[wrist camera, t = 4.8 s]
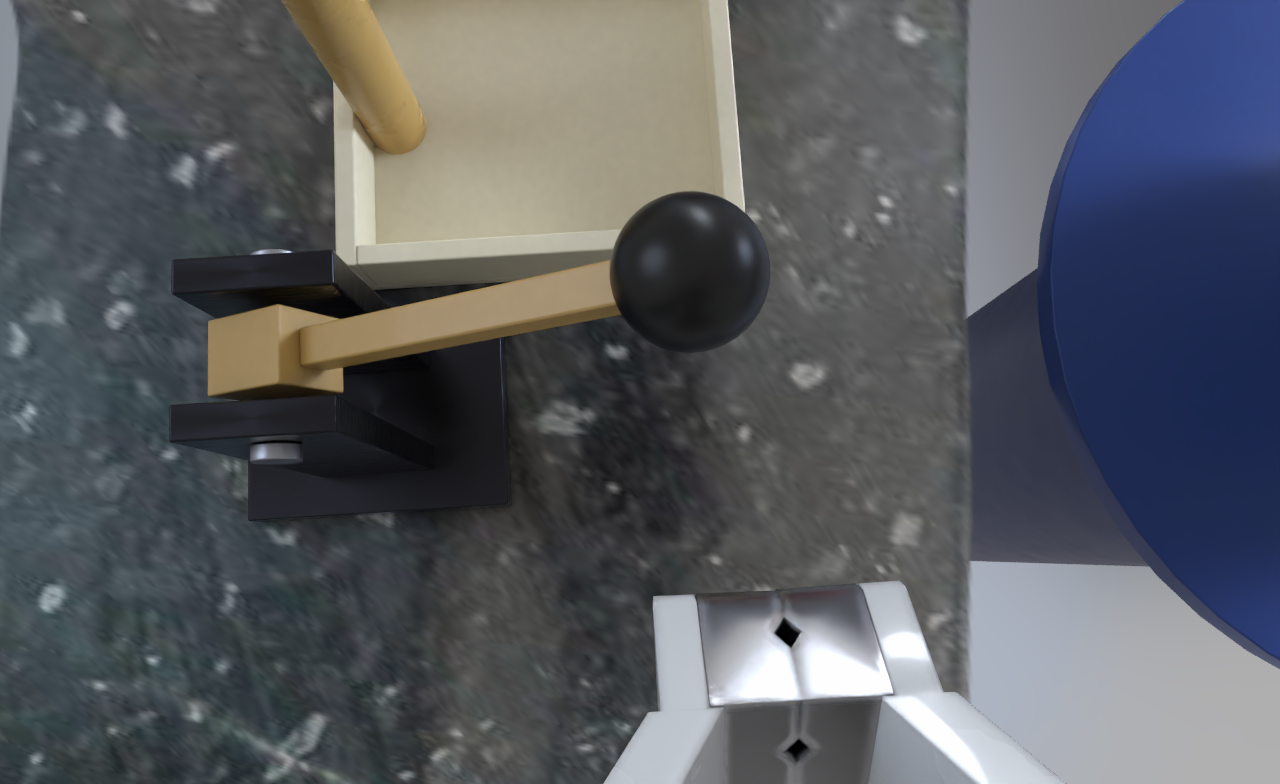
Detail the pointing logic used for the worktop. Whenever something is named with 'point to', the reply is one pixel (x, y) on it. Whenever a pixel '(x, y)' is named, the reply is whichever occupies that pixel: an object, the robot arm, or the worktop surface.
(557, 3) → the cream wooden tray
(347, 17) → the spout
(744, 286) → the tap lever
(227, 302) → the bracket
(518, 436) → the worktop surface
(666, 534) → the worktop surface
